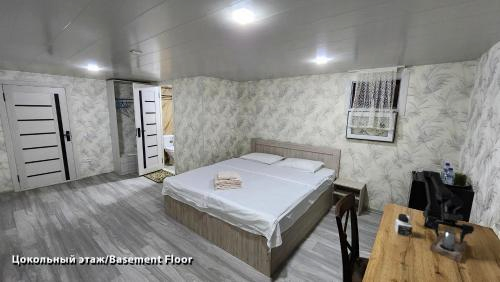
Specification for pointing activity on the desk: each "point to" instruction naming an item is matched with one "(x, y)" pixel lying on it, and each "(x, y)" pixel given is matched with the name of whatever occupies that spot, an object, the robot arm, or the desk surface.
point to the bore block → (455, 255)
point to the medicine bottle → (403, 225)
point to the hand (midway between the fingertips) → (449, 239)
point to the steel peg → (448, 240)
